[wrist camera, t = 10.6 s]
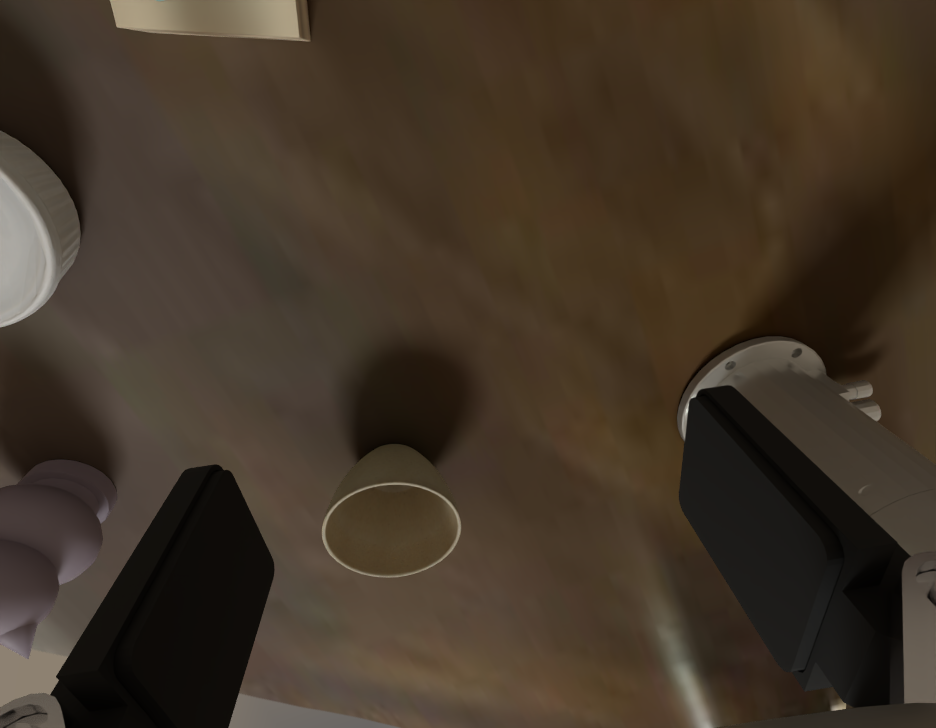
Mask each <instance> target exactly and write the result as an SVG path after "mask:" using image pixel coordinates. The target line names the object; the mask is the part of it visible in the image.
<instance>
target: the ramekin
mask: <svg viewBox="0 0 936 728" xmlns="http://www.w3.org/2000/svg"><path fill="white" fill-rule="evenodd" d="M80 237H81V231H80V222H79V219H78V213H77V210H76V208H75V206H74V202H73V200H72V199H71V197H70V195H69V193H68V191H67V189H66V188H65V187H64V185H63V184H62V182H61V180H60V179H59V178H58V177H57V176H56V174H55V173H54V172H53V171H52V169H51V168H50V167H49V166H48V165H47V164H46V163H45V162H44V161H43V160H42V159H41V158H40V157H39V156H37V155H36V154H35V153H34V152H33V151H32V150H31V149H29V148H28V147H26V146H25V145H23V144H22V143H21V142H20V141H18V140H17V139H15V138H13V137H11V136H9V135H8V134H6V133H4V132H2V131H0V327H4V326H7V325H10V324H13V323H16V322H18V321H20V320H22V319H24V318H26V317H28V316H29V315H31V314H33V313H34V312H35V311H37V310H38V309H39V308H40V307H42V306H43V305H44V304H45V303H46V302H47V300H48V299H49V298H50V297H51V296H52V294H53V293H54V291H55V289H56V287H57V285H58V282H59V281H60V279H61V278H62V277H63V276H64V274H65V273H66V272H67V271H68V269H69V268H70V267H71V265H72V264H73V263H74V261H75V257H76V256H77V254H78V249H79V246H80Z"/></svg>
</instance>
